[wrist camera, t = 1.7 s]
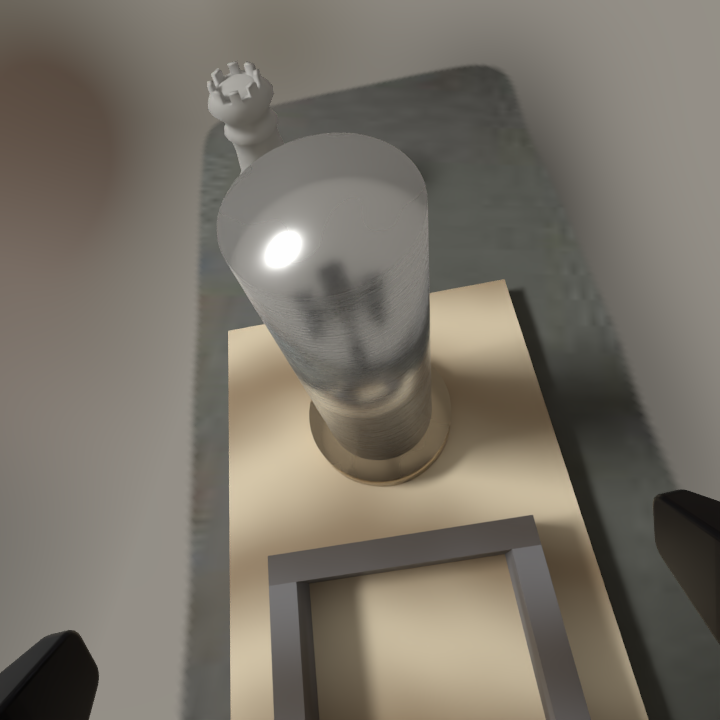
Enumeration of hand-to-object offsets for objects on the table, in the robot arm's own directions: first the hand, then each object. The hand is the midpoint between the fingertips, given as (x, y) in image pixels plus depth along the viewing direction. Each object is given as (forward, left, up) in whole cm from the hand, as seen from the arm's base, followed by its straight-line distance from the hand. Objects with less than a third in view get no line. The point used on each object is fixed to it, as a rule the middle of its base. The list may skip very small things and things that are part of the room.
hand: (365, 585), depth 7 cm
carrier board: (+1, 0, -13) cm, 13 cm away
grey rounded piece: (+7, 0, -12) cm, 14 cm away
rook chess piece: (+22, +4, -13) cm, 26 cm away
